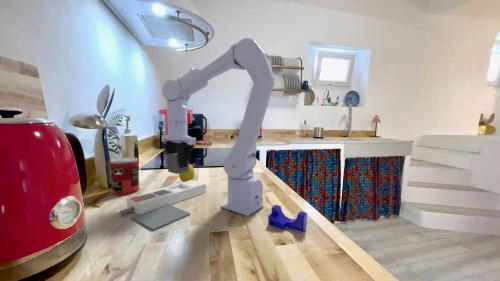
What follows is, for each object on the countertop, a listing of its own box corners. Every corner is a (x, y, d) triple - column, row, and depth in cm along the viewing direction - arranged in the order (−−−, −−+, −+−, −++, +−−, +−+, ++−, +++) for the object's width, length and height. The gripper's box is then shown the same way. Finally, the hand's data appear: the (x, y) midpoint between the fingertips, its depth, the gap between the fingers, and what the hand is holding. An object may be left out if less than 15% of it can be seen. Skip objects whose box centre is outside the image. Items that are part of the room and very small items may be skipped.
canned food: (109, 191, 71) (107, 159, 70) (135, 186, 77) (133, 156, 76) (114, 197, 66) (112, 162, 65) (142, 191, 72) (141, 159, 70)
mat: (190, 214, 55) (190, 213, 55) (153, 231, 47) (153, 229, 47) (167, 205, 61) (167, 203, 61) (131, 218, 53) (131, 216, 53)
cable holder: (268, 225, 50) (268, 209, 50) (274, 220, 53) (275, 204, 53) (300, 236, 46) (301, 218, 45) (306, 229, 49) (307, 212, 48)
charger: (188, 171, 67) (188, 153, 66) (176, 173, 64) (176, 155, 63) (180, 169, 70) (179, 152, 69) (168, 171, 66) (167, 153, 66)
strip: (192, 188, 76) (192, 178, 76) (205, 192, 72) (205, 182, 71) (115, 212, 56) (114, 199, 55) (128, 220, 52) (127, 206, 51)
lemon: (192, 186, 78) (191, 164, 77) (177, 186, 78) (176, 164, 77) (196, 181, 83) (196, 161, 83) (182, 181, 84) (181, 161, 83)
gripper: (203, 122, 64) (204, 166, 65) (174, 121, 72) (175, 161, 74) (183, 122, 58) (185, 171, 60) (154, 121, 67) (156, 164, 68)
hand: (178, 166), depth 66 cm, fingers closed on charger, 4 cm apart
